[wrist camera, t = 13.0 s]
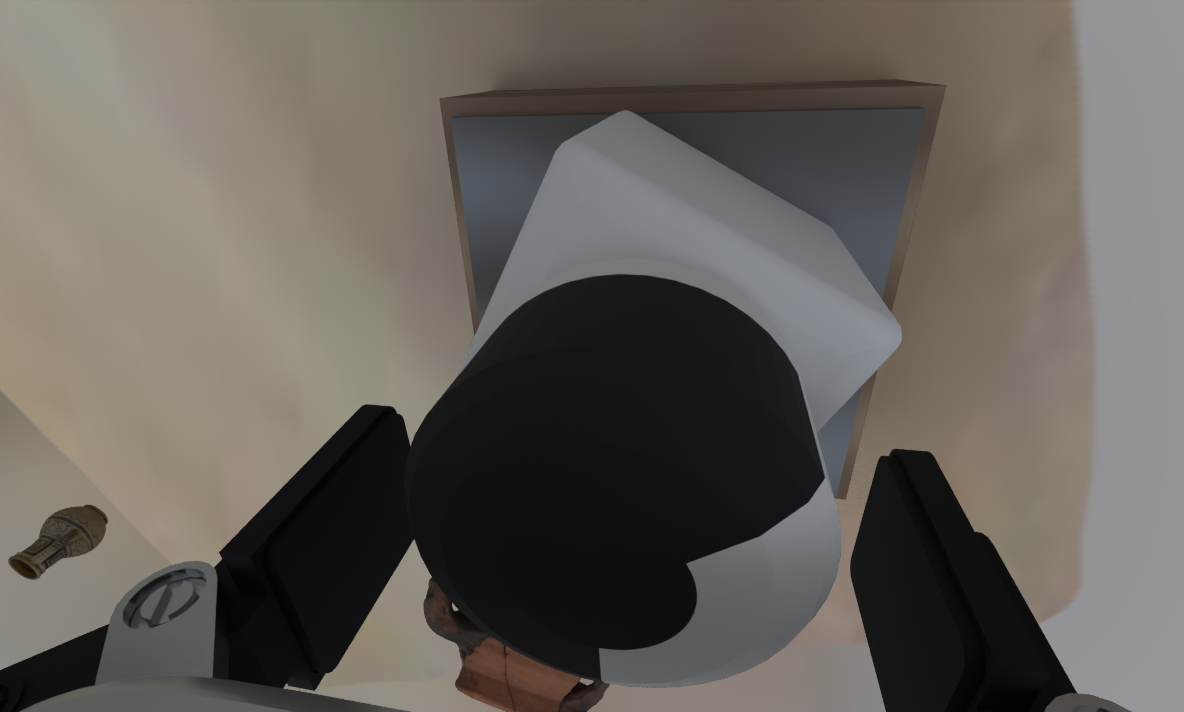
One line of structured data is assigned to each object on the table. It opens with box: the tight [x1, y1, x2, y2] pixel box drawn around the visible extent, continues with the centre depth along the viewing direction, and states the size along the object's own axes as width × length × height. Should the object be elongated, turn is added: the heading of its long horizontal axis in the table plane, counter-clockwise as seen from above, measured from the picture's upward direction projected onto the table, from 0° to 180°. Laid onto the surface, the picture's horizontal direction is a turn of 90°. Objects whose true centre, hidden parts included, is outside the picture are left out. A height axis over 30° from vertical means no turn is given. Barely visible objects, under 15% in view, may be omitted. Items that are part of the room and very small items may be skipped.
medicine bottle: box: [404, 110, 902, 688], centre depth 12 cm, size 7×7×12 cm
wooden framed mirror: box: [440, 80, 946, 499], centre depth 20 cm, size 14×14×5 cm
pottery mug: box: [424, 577, 610, 712], centre depth 31 cm, size 12×9×8 cm
